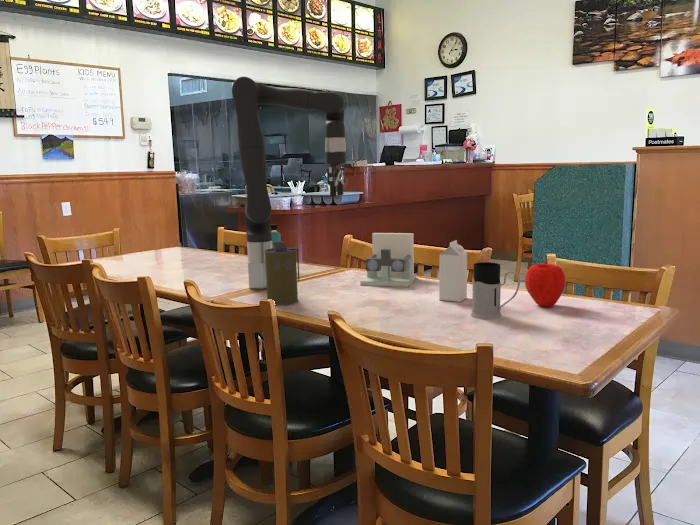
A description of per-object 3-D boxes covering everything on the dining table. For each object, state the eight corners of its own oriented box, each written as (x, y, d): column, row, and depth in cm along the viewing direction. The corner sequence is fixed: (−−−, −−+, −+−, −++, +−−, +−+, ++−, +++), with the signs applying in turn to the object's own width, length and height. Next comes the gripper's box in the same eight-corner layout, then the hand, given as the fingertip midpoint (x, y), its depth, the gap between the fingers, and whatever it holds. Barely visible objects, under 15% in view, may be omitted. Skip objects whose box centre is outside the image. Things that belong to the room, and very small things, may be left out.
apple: (515, 303, 178) (517, 261, 176) (546, 299, 182) (548, 258, 180) (541, 312, 167) (542, 267, 165) (573, 307, 171) (574, 264, 169)
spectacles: (404, 272, 209) (404, 250, 207) (366, 270, 213) (365, 249, 212) (410, 266, 220) (410, 245, 219) (374, 265, 224) (373, 245, 223)
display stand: (408, 286, 207) (407, 239, 204) (360, 285, 212) (359, 238, 209) (416, 277, 223) (416, 233, 221) (371, 276, 229) (370, 232, 226)
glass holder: (479, 310, 171) (479, 261, 169) (524, 317, 162) (526, 265, 160) (465, 316, 165) (465, 265, 162) (512, 324, 156) (513, 270, 153)
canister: (269, 306, 182) (266, 244, 178) (264, 299, 192) (261, 241, 188) (302, 303, 185) (300, 242, 181) (296, 297, 195) (294, 239, 191)
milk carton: (439, 300, 185) (439, 242, 182) (446, 295, 191) (446, 239, 188) (460, 302, 182) (460, 243, 178) (466, 297, 188) (467, 240, 185)
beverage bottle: (281, 270, 247) (279, 224, 243) (266, 270, 247) (264, 224, 244) (283, 267, 253) (281, 223, 250) (268, 268, 253) (266, 223, 250)
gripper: (331, 151, 213) (333, 195, 216) (319, 150, 200) (320, 197, 203) (351, 151, 211) (352, 194, 214) (339, 150, 198) (340, 197, 201)
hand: (336, 196), depth 208 cm, fingers open, 8 cm apart
